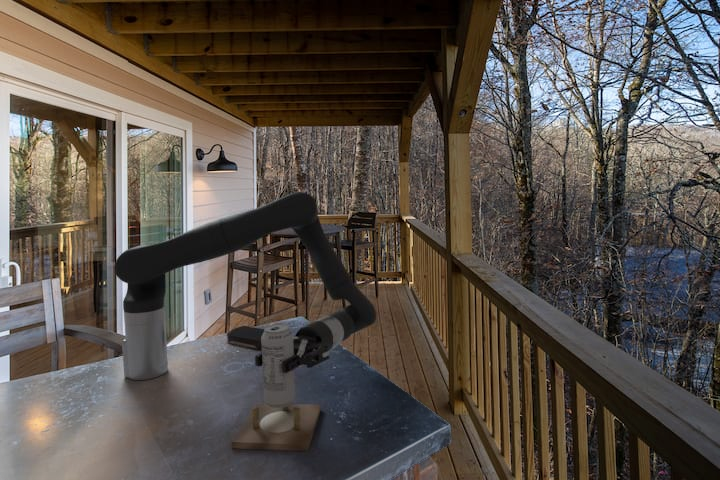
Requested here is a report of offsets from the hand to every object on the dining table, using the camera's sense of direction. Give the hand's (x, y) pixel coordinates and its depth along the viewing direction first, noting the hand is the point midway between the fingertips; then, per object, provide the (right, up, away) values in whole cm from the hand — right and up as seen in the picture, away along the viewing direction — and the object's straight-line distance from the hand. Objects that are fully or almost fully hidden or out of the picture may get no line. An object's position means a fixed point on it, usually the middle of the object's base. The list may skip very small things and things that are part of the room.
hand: (270, 364), depth 76 cm
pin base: (+1, -13, +3) cm, 14 cm away
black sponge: (-17, -9, +51) cm, 55 cm away
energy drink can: (+1, -8, +3) cm, 9 cm away
